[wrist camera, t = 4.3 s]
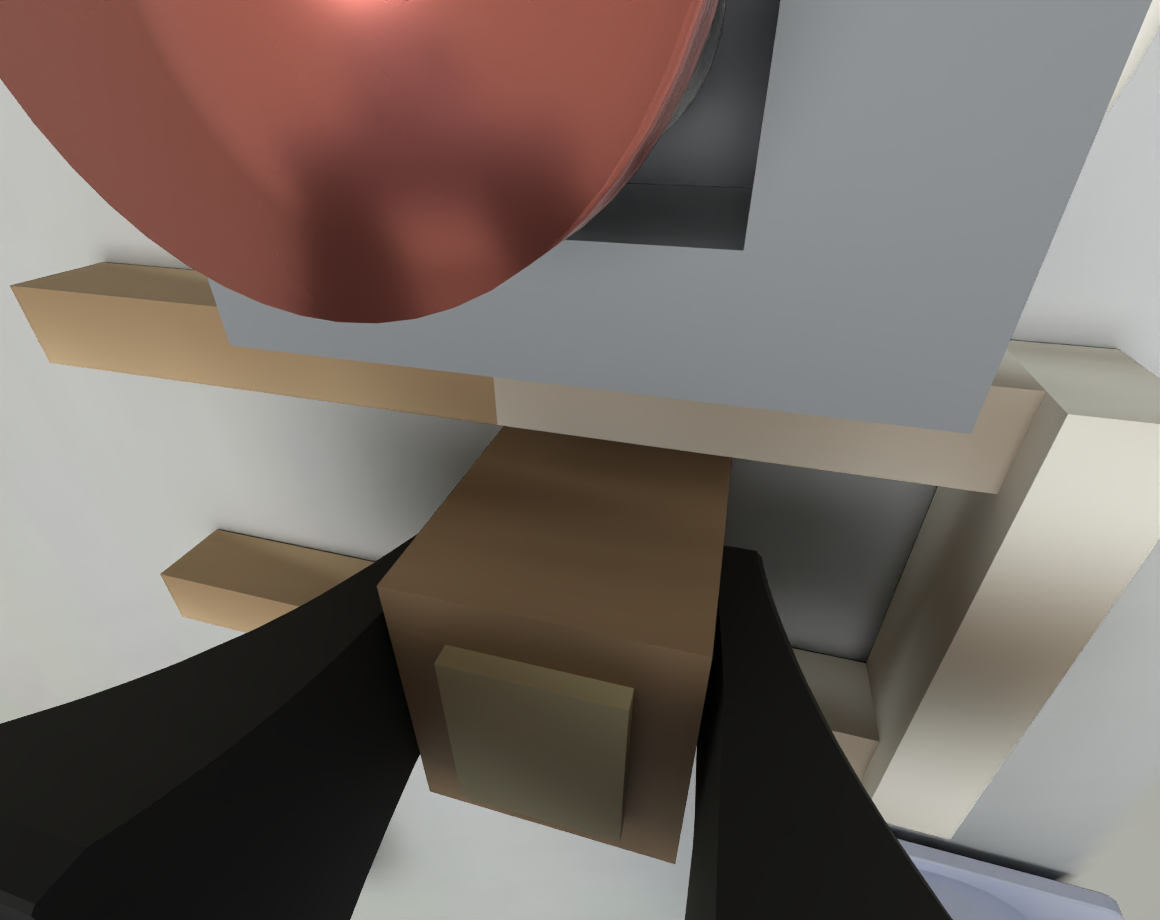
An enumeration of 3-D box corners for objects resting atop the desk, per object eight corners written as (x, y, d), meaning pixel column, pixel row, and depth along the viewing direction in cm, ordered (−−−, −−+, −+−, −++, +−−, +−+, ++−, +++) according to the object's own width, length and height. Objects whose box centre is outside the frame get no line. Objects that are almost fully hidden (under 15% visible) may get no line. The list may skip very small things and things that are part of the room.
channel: (921, 723, 13) (950, 839, 11) (233, 570, 17) (163, 634, 15) (1120, 349, 8) (1234, 432, 6) (102, 262, 12) (-28, 294, 10)
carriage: (705, 615, 13) (671, 886, 8) (532, 581, 14) (420, 809, 9) (734, 432, 10) (710, 680, 6) (521, 405, 11) (362, 603, 7)
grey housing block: (907, 304, 8) (996, 437, 5) (401, 265, 10) (230, 345, 7) (1139, -451, 5) (1865, -1515, 2) (310, -306, 7) (-119, -683, 3)
